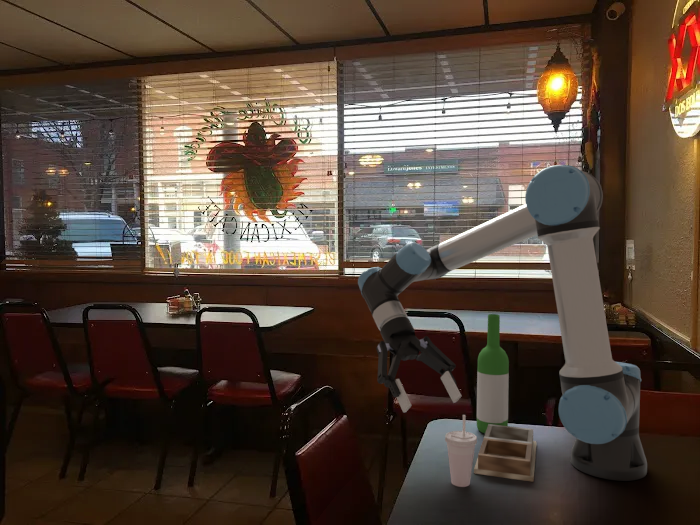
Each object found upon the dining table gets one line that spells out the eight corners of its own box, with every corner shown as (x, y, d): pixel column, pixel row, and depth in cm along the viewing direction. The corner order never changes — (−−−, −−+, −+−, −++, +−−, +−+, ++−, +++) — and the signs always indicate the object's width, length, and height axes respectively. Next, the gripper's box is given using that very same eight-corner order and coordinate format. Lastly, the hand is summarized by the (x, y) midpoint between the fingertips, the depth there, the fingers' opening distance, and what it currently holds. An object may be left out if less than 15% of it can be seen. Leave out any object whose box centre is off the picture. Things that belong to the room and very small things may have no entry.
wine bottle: (513, 431, 146) (515, 315, 144) (496, 438, 141) (498, 318, 139) (487, 423, 152) (489, 311, 150) (470, 430, 146) (471, 314, 145)
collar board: (536, 445, 136) (536, 429, 136) (533, 481, 117) (533, 462, 116) (485, 439, 140) (485, 423, 140) (473, 473, 121) (474, 454, 120)
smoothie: (476, 491, 112) (477, 421, 112) (443, 488, 114) (444, 419, 113) (476, 477, 119) (477, 411, 118) (445, 474, 120) (445, 409, 119)
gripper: (428, 329, 143) (468, 404, 131) (342, 338, 131) (377, 422, 119) (442, 311, 139) (485, 387, 126) (354, 319, 126) (392, 404, 114)
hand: (433, 404), depth 123 cm, fingers open, 13 cm apart
